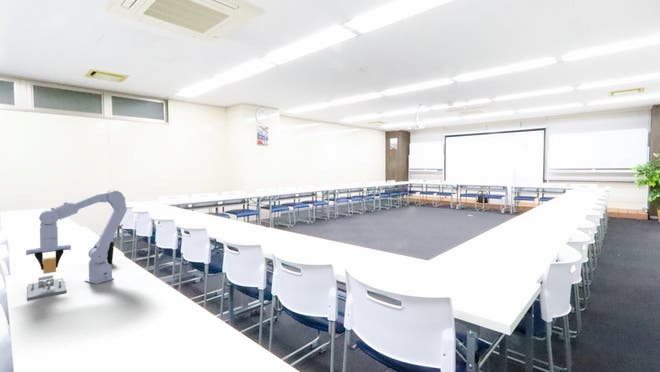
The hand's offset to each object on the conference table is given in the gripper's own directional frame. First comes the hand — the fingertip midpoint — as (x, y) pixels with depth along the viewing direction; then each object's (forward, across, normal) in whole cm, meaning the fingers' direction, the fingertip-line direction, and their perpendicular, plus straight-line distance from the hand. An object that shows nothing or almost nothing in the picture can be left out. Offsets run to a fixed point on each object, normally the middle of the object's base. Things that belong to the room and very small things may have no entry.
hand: (49, 268), depth 135 cm
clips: (+10, +1, -1) cm, 10 cm away
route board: (+10, +1, -1) cm, 10 cm away
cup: (+10, -25, -29) cm, 39 cm away
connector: (+2, 0, 0) cm, 2 cm away
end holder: (+9, +1, -7) cm, 11 cm away
